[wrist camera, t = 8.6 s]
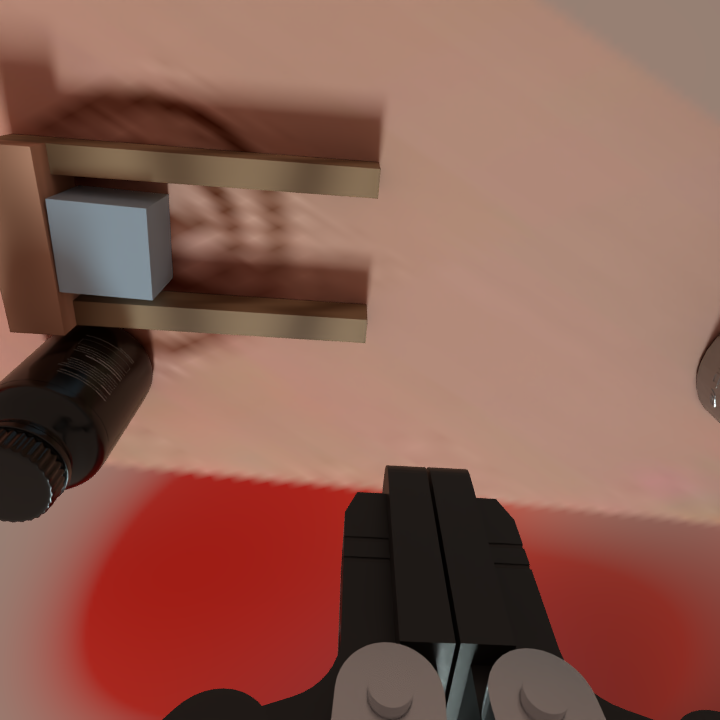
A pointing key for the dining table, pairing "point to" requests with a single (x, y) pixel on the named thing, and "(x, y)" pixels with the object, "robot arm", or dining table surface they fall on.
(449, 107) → the dining table surface
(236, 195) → the dining table surface
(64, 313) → the track
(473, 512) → the robot arm
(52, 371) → the supplement bottle
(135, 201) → the block
